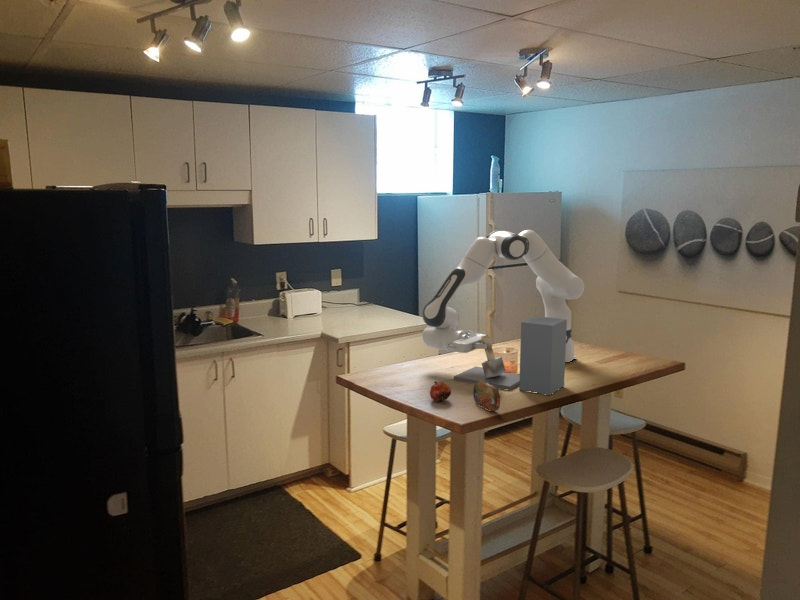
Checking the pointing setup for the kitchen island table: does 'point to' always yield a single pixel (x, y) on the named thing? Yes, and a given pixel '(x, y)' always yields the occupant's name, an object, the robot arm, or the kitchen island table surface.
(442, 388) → the pomegranate
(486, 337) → the mallet
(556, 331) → the stand
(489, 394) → the tin
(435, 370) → the kitchen island table surface
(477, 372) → the board
